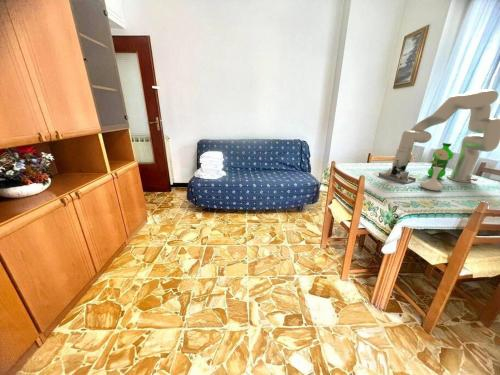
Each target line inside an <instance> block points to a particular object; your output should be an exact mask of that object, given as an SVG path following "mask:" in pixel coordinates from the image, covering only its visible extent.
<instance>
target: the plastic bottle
mask: <svg viewBox="0 0 500 375" xmlns="http://www.w3.org/2000/svg"><path fill="white" fill-rule="evenodd" d="M450 147H452V143H451V142H443V143H442V147H441V148H440V149H442V150H445V151H447V153H448V155H449V157H448V158H447V160H446V159H445V160H442V159H440V158H438V157H437V156H436V155H435V151H433V153H432V158H433V160H434V161H435V162H436V163H437V167H440V168H443V169H442V170H441V171H440V172H439V174H438V176H437V179H440V178H442V177H444V176H445V175H446V173H447V172H446V168H447V165H448V163H449V161H450V160H451V159H452V158H453V157H454V152H453V151H452V149H450ZM437 158H438V159H437ZM436 160H437V161H436ZM439 164H442V165H439ZM433 167H436V164H433V163H432V164H431V166H430V168H429V169H427V175H429V177H430V178H432V176H433V172H434V170H433Z"/></svg>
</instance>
